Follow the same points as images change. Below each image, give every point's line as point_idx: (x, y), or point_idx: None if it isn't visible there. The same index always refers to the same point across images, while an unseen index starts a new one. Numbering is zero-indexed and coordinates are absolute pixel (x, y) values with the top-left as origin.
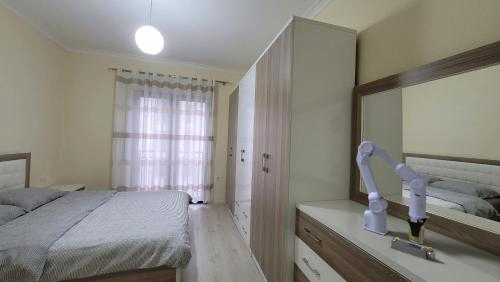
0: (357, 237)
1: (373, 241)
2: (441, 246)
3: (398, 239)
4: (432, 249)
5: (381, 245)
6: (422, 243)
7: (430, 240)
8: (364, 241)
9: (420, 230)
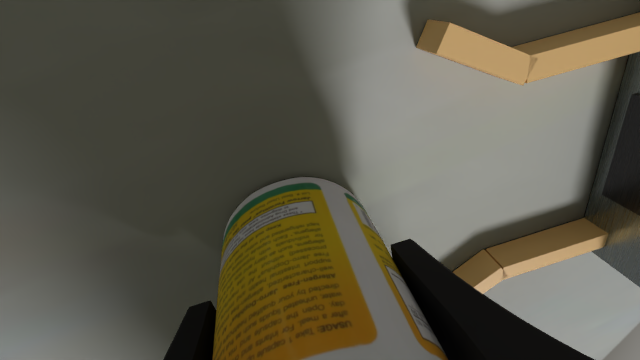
0: (598, 354)
1: (598, 307)
2: (90, 24)
3: (497, 283)
4: (444, 22)
5: None
6: (312, 178)
7: (40, 200)
8: (634, 316)
9: (416, 325)
